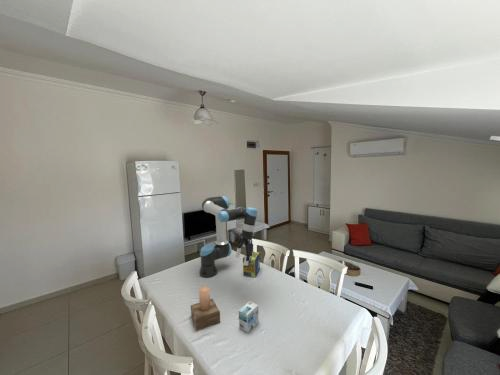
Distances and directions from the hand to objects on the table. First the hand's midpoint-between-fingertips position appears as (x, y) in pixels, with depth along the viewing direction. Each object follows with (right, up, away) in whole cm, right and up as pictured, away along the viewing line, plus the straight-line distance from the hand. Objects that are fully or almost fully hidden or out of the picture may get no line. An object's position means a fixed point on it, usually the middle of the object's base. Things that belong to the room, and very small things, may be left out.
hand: (241, 261), depth 147 cm
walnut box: (-21, -29, -16) cm, 39 cm away
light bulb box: (+5, -30, -21) cm, 37 cm away
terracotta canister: (-21, -22, -16) cm, 35 cm away
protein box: (+7, -23, +39) cm, 46 cm away
